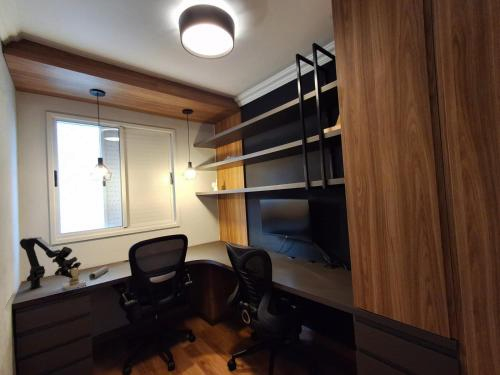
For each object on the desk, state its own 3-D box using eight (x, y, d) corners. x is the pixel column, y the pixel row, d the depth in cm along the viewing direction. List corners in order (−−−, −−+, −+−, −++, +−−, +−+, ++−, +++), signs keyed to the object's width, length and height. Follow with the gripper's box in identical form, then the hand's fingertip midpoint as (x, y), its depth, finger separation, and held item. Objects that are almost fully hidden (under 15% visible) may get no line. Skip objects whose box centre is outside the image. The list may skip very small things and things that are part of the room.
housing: (61, 287, 180) (61, 284, 180) (80, 282, 190) (80, 279, 190) (67, 290, 173) (67, 287, 173) (86, 285, 182) (86, 282, 183)
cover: (67, 285, 181) (66, 269, 181) (77, 282, 186) (77, 267, 187) (70, 287, 177) (69, 270, 177) (80, 284, 182) (80, 268, 183)
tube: (102, 266, 222) (87, 274, 198) (108, 264, 223) (94, 272, 198) (104, 272, 222) (90, 280, 198) (110, 269, 223) (96, 278, 198)
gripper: (57, 257, 174) (71, 272, 172) (79, 251, 192) (91, 265, 190) (48, 268, 174) (62, 283, 172) (70, 261, 193) (82, 275, 191)
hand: (75, 276), depth 182 cm, fingers closed on cover, 6 cm apart
